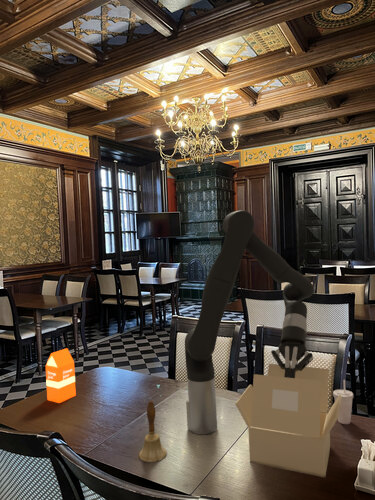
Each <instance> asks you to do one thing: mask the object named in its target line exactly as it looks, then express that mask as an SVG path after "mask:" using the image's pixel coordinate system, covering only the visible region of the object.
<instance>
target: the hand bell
mask: <svg viewBox="0 0 375 500" xmlns="http://www.w3.org/2000/svg"><path fill="white" fill-rule="evenodd" d="M146 416H147V417H146V418H147V420H148V433H147V434H146V435H145V437H144V442H143V447H142V449H141V450H140V452H139V454H138V457H139V459H140V460H141V462H145V463H156V462H160V461H161V460H163V459H165V458H166V457H167V454H168V452H167V450H166V448H165V447H164V446H162V442H161V438H160V435H159V434H158V433H155V431H156V430H155V418H156V407H155V404H154V402H153V400H149V401H148V403H147V407H146Z"/></svg>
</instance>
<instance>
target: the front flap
mask: <svg viewBox="0 0 375 500" xmlns="http://www.w3.org/2000/svg"><path fill="white" fill-rule="evenodd" d="M252 380H253V383H252V387H253V394H252V409H251V424H250V427H256V428H263V429H269V430H275V431H281V432H287V433H294V434H300V435H306V436H312V437H318V438H320V381H316V380H306V379H296V378H287V377H277V376H267V374H266V375H265V374H253V379H252Z"/></svg>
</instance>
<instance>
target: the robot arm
mask: <svg viewBox="0 0 375 500" xmlns="http://www.w3.org/2000/svg"><path fill="white" fill-rule="evenodd" d="M254 219H255V218H254V217H253V215H252V213H251V212H249V211H247V210H244V209H242V210H235V211H232V212H230V213H228V214H227V215H226V216H224V219H223V221H222V228H223V230H224V233H225V237H224V241H223V244H222V248H221V250H220V252H219V253H218V255H217V257H216V258H215V260H214V261H213V263H212V265H211V267H210V270H209V272H208V276H207V277H206V281H205V284H204V286H203V291H202V297H201V305H200V306H201V307H200V313H199V317H198V319H197V322H196V326H195V328H192V329H190V330H189V331H188V332H187V334H186V336H185V337H184V355H185V356H184V357H185V368H186V374H187V375H186V379H187V395H188V398H187V400H186V402H185V403H186V406H185V407H186V426H187V430H188V431H190V432H192V433H194V434H197V435H209V434H212V433H215V432H216V431H217V429H218V419H217V413H218V412H217V398H216V397H217V395H216V377H215V376H216V375H215V374H216V373H215V366H214V361H213V354H214V351H215V348H216V344H217V339H218V334H219V331H220V326H221V322H222V319H223V317H224V314H225V312H226V310H227V306H228V303H229V300H230V298H231V296H232V292H233V289H234V285H235V283H236V279H237V276H238V272H239V269H240V266H241V262H242V258H243V255H244V253H245V250H246V251H247V252H248V253H249V254H250V255H251V256H252V257H253V258H254V259H255V261H257V262H258V263H259V265H261V267H262V268H263V269H264V270H265V271H266V273H268V275H270V277H272V279H273V280H274V281H275V282H276V283H278V284H284V283H287V284H286V285H285V286H284V287H283V290H282V297H283V302H284V307H285V308H284V310H285V311H284V318H283V322H282V328H281V337H280V338H281V339H280V343H279V345H278V347H277V349H276V350H274V349H273V350H271V356H272V357H273V360H275V362H276V364H278V365H279V366H280V368H281V369H284V370H285V376H284V377H287V378H295V373H296V371H302V370H303V369H304V368H305V367H308V366H309V364H310V363H311V362H313V360H314V355H313V353H312V352H309V351H308V350H307V346H306V345H307V344H306V342H307V332H308V326H307V317H308V307H307V304H306V303H304V302H303V300H306V299H308V298H310V297H312V296H313V294H314V292H315V289H314V285H313V283H312V282H311V280H310V279H309V278H308V277H306V276H305V275H303V274H302V273H300V272H299V271H297V270H295V269H294V268H293V267H291V265H289V263H287V261H286V260H285V259H284V258H283V257H282V256H281V255H280V254H279V253H278V252H277V251H276V250H274V249H273V248H272V247H270V246H269V245H268V244H267V243H266V242H264V241H263V240H262V239H261V238H260V237H259V236H258V235H257V233H256V232H255V231H254V230H255V220H254ZM281 356H282V357H283V359H284V361H285V363H284V362H283V361H282V359H281V358H280V357H281Z"/></svg>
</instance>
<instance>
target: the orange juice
mask: <svg viewBox="0 0 375 500" xmlns="http://www.w3.org/2000/svg"><path fill="white" fill-rule="evenodd" d="M45 378H46V379H45V381H46V397H47V401H48V402H54V403H57V404H60V403H63V402H65V401H67V400H69V399H71V398H73V397H75V396H76V395H77V392H76V390H77V389H76V372H75V361H74V359H73V357H72V355H71V352H70V351H69V349H68V348H67V347H66V348H64V349H60V350H58V351H54V352H51V353H50V355H49V357H48V359H47V362H46V364H45Z"/></svg>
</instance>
